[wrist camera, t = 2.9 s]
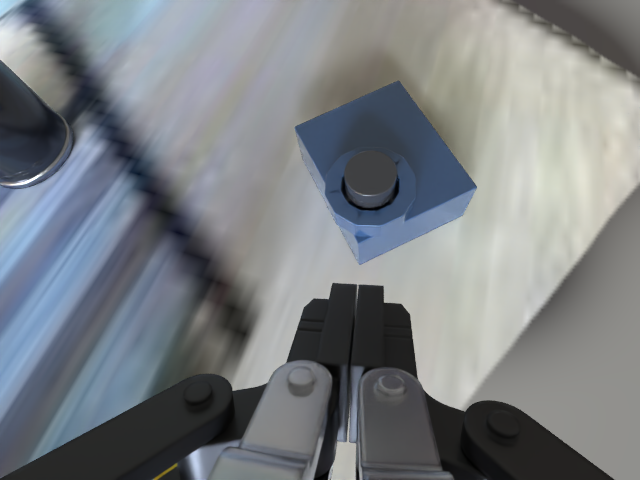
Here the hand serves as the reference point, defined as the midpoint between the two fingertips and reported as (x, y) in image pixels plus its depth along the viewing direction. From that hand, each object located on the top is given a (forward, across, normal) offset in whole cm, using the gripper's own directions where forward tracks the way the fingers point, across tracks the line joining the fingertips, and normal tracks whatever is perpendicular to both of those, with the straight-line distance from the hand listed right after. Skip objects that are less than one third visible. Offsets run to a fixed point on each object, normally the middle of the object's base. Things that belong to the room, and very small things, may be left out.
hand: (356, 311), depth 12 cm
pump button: (+18, 0, +1) cm, 18 cm away
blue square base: (+26, -1, +3) cm, 26 cm away
